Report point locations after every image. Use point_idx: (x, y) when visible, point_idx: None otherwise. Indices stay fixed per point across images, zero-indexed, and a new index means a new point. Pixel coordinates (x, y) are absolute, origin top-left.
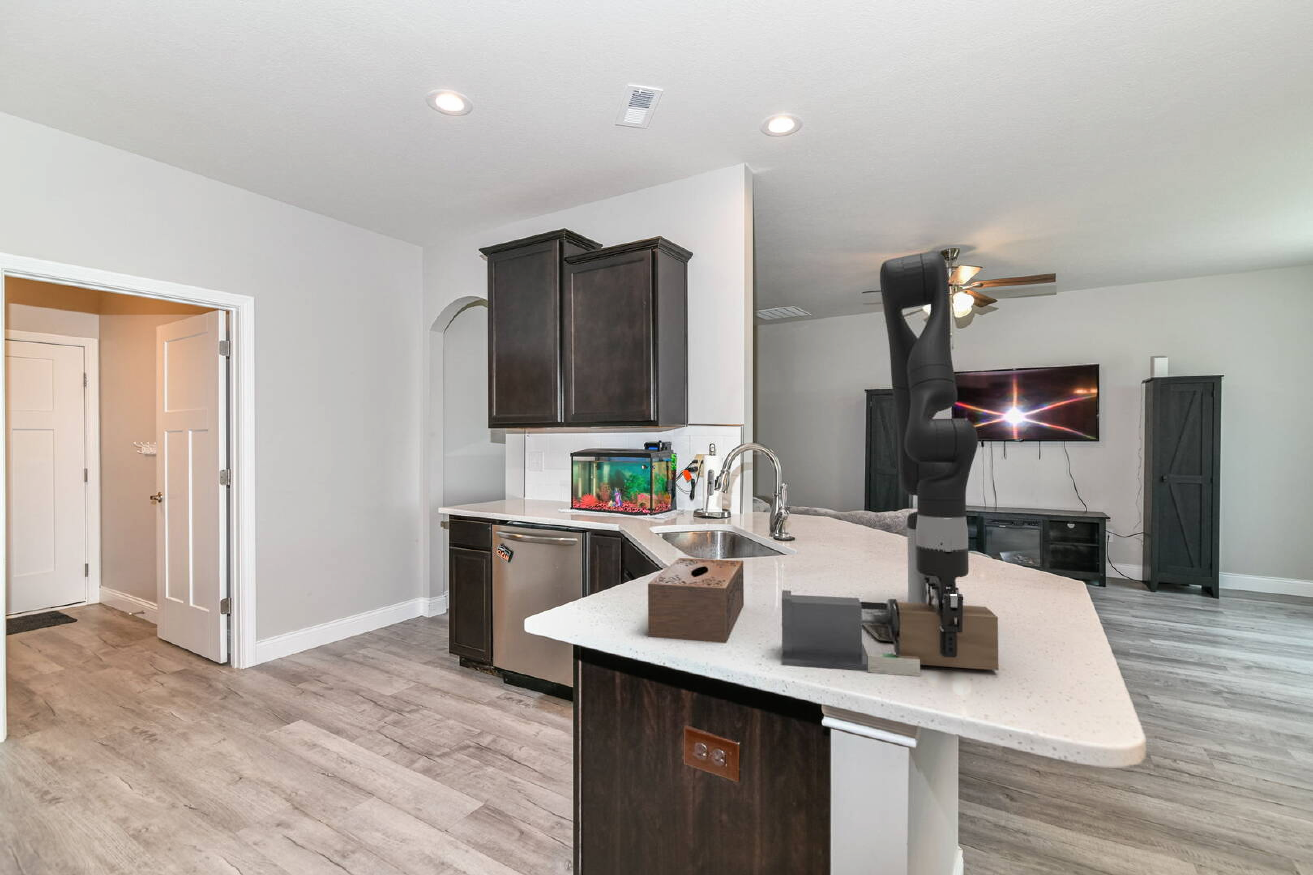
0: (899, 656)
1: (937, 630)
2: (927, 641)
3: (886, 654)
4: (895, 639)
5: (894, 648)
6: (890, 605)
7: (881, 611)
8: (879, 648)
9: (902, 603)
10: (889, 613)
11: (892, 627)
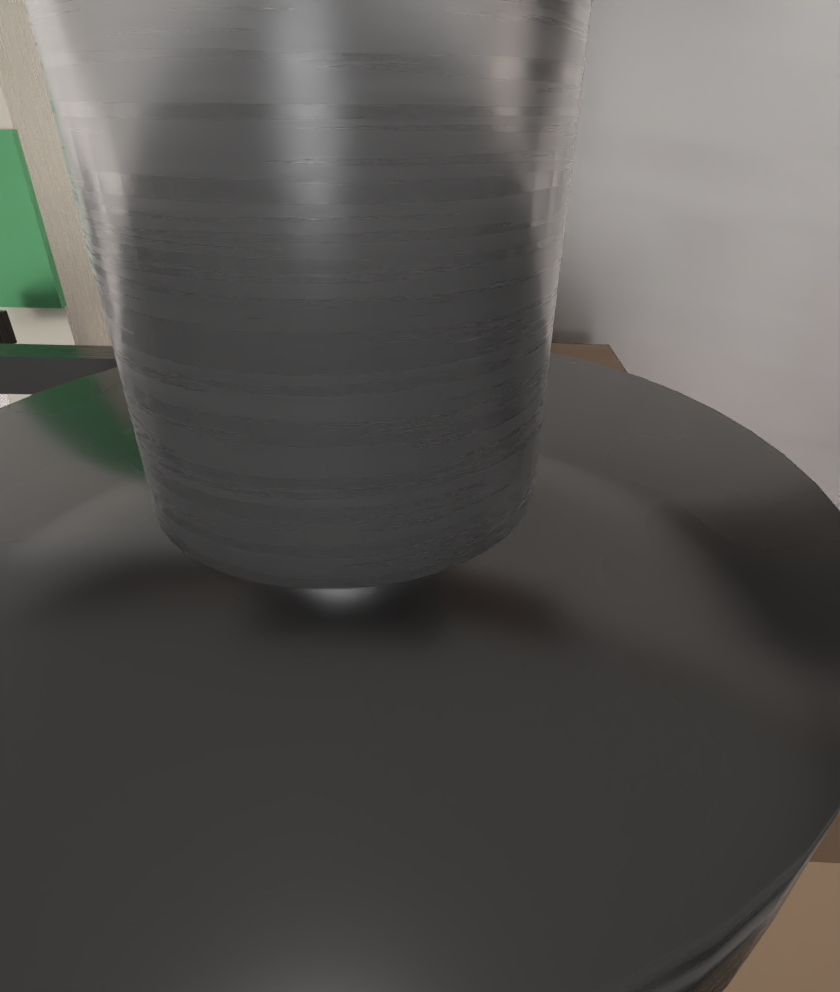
0: (40, 336)
1: None
2: None
3: (3, 183)
4: (26, 369)
5: (580, 352)
6: (50, 762)
7: (185, 305)
8: (815, 208)
9: (735, 980)
10: (172, 523)
11: (49, 410)
